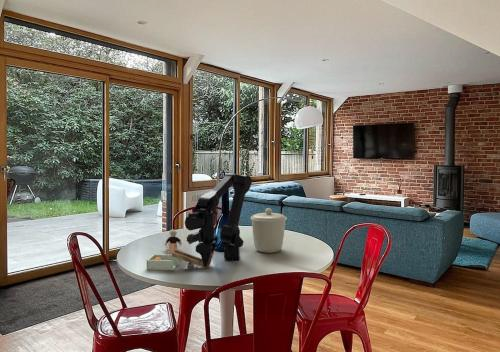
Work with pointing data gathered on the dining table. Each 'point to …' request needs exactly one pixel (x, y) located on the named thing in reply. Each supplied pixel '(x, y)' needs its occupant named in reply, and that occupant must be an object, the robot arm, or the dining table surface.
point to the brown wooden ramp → (191, 258)
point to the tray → (162, 262)
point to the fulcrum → (190, 267)
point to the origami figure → (168, 244)
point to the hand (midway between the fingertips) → (207, 263)
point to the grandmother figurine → (172, 241)
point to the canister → (268, 231)
